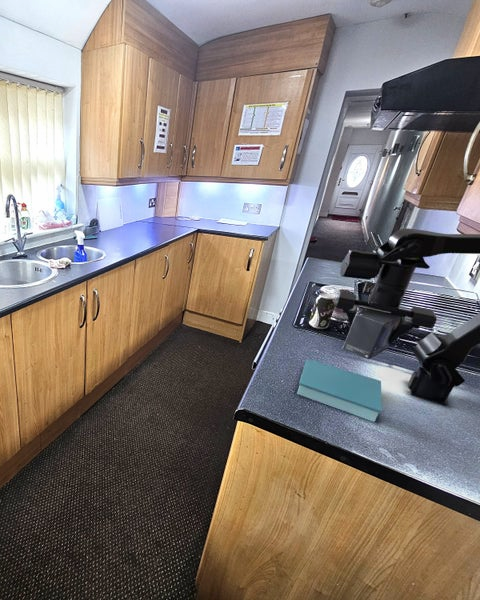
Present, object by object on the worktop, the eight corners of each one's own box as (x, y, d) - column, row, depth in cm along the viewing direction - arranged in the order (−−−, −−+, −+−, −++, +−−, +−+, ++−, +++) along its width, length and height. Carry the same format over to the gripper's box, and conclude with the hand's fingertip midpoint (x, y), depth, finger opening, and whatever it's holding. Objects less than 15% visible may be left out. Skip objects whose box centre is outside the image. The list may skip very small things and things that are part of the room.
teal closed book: (375, 392, 84) (381, 380, 83) (376, 423, 75) (382, 411, 73) (303, 368, 94) (307, 358, 92) (295, 394, 84) (299, 382, 82)
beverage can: (313, 329, 115) (323, 298, 110) (305, 322, 120) (314, 292, 115) (330, 330, 114) (341, 299, 109) (321, 323, 119) (331, 292, 114)
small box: (370, 361, 81) (385, 324, 77) (340, 349, 87) (353, 313, 82) (389, 349, 86) (404, 314, 82) (359, 338, 91) (373, 304, 87)
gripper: (442, 281, 79) (416, 337, 85) (346, 266, 90) (329, 317, 96) (449, 295, 71) (419, 356, 77) (343, 277, 82) (324, 331, 88)
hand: (369, 338), depth 85 cm, fingers closed on small box, 7 cm apart
